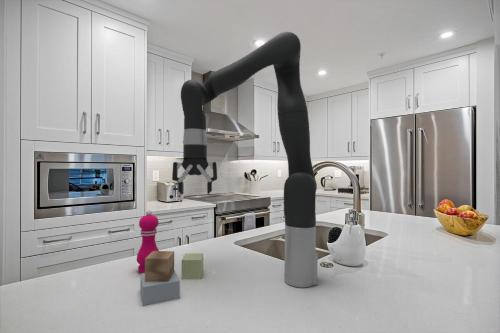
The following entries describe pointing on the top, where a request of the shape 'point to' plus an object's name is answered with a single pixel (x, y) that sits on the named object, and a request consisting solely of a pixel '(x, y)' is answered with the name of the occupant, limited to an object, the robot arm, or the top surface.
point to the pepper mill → (147, 239)
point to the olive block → (192, 266)
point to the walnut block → (159, 266)
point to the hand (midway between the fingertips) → (195, 193)
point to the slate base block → (159, 290)
